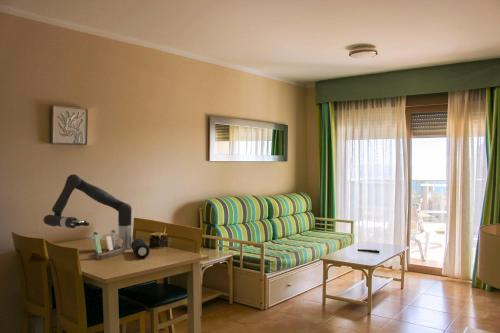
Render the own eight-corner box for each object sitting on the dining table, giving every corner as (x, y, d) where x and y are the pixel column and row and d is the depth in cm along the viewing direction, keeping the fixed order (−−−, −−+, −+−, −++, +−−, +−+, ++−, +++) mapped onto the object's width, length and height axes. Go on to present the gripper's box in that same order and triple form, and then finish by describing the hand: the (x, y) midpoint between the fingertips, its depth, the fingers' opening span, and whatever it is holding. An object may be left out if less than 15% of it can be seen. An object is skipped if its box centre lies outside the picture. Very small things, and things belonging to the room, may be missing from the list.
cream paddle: (107, 250, 291) (105, 236, 292) (111, 249, 295) (109, 235, 295) (109, 250, 290) (106, 236, 291) (113, 249, 294) (110, 235, 295)
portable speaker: (130, 252, 304) (130, 238, 304) (144, 251, 308) (145, 237, 308) (135, 259, 281) (135, 244, 280) (150, 258, 284) (150, 244, 284)
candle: (167, 246, 327) (167, 233, 327) (159, 248, 318) (159, 235, 318) (156, 244, 331) (157, 232, 331) (148, 247, 322) (148, 234, 322)
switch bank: (90, 258, 281) (90, 251, 281) (114, 251, 302) (114, 245, 302) (101, 259, 278) (101, 252, 278) (124, 253, 299) (124, 246, 299)
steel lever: (113, 249, 297) (110, 230, 298) (116, 248, 300) (113, 230, 301) (116, 248, 296) (112, 230, 297) (119, 248, 299) (115, 229, 300)
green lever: (95, 254, 281) (91, 232, 283) (99, 253, 284) (95, 231, 286) (98, 253, 280) (94, 231, 282) (102, 252, 283) (98, 231, 285)
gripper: (61, 218, 287) (80, 219, 280) (76, 215, 299) (95, 217, 292) (61, 229, 287) (80, 231, 280) (76, 226, 299) (95, 228, 292)
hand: (88, 224), depth 286 cm, fingers closed
